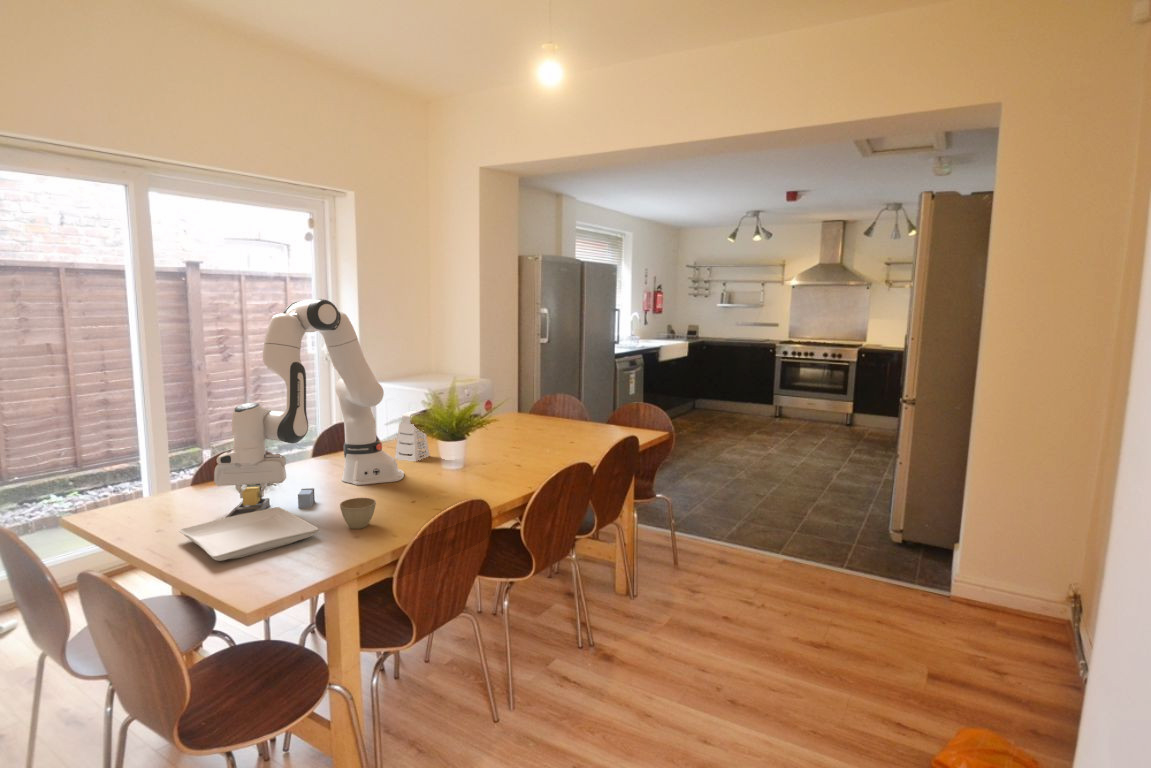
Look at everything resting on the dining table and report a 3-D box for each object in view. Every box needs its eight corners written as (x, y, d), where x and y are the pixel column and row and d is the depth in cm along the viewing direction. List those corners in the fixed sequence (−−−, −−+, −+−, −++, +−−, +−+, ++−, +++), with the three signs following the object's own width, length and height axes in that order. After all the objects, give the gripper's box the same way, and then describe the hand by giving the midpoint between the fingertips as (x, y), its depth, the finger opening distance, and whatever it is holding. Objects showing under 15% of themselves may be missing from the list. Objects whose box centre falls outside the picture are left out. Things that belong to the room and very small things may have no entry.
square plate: (213, 570, 148) (212, 555, 147) (178, 541, 166) (177, 527, 165) (320, 539, 168) (320, 526, 168) (278, 516, 186) (278, 504, 185)
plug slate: (314, 501, 200) (314, 488, 200) (310, 507, 194) (310, 493, 194) (302, 502, 200) (301, 488, 199) (298, 508, 194) (297, 494, 193)
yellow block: (261, 498, 194) (261, 485, 194) (255, 504, 189) (255, 490, 188) (249, 499, 194) (248, 485, 193) (242, 505, 188) (241, 491, 187)
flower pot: (343, 534, 172) (342, 510, 171) (339, 523, 181) (338, 500, 180) (379, 528, 177) (378, 505, 176) (373, 518, 185) (372, 495, 184)
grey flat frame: (269, 504, 196) (269, 498, 196) (252, 524, 179) (251, 516, 179) (244, 506, 195) (243, 499, 195) (224, 525, 177) (223, 518, 177)
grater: (429, 456, 263) (429, 411, 260) (415, 462, 253) (414, 415, 250) (409, 454, 266) (408, 409, 264) (394, 459, 257) (393, 413, 254)
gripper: (287, 451, 194) (289, 492, 196) (218, 453, 190) (221, 495, 192) (282, 456, 188) (284, 498, 190) (210, 458, 184) (213, 502, 186)
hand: (252, 497), depth 191 cm, fingers closed on yellow block, 4 cm apart
